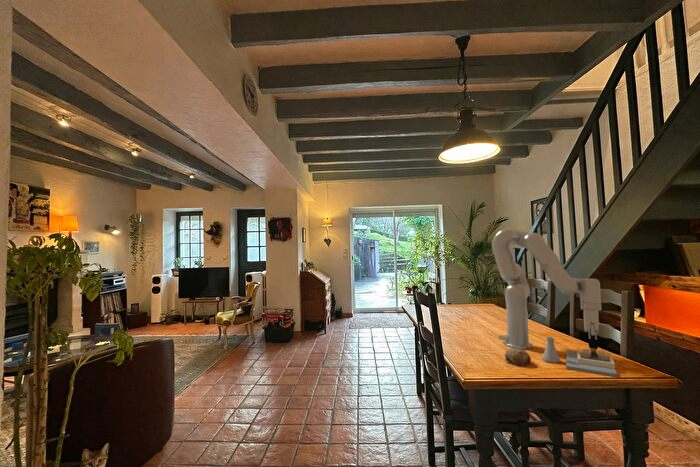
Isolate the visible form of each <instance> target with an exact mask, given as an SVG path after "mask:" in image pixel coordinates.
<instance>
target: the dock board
mask: <svg viewBox="0 0 700 467" xmlns="http://www.w3.org/2000/svg"><path fill="white" fill-rule="evenodd" d="M597 356H598V361H597V360H592V357H591V350H590V348H589V349H587V348H582V350H577V351H575V350H566V359H565V360H566V363H565V364H566V365H565V368H566V369H565V370H573V371H578V372H584V373H589V374H595V375H602V376H609V377H615V378H617V377H618V373H617V370H616V364H615V361H614V358H613V356H612V354H611V355H610V354H607V353H606V351H604V350H597Z"/></svg>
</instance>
